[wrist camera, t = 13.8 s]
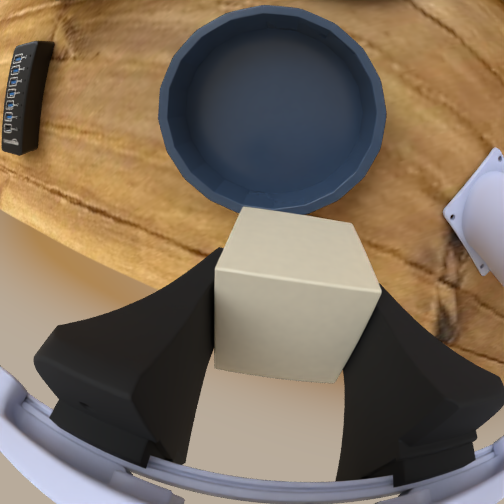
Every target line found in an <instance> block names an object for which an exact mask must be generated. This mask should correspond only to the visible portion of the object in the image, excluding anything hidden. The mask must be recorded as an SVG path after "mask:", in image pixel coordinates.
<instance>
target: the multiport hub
mask: <svg viewBox="0 0 504 504" xmlns="http://www.w3.org/2000/svg"><path fill="white" fill-rule="evenodd" d="M53 48H54V42H51V41H33V42H29V43H26V44H22V45H19V46H17V47H16V48H15V50H14V54H13V58H12V62H11V67H10V72H9V77H8V82H7V89H6V95H5V103H4V113H3V125H2V150H3V151H4V152H8V153H12V154H15V155H19V156H20V155H23V154H25V153H28V152H31V151H33V150H36V149H37V148H38V136H39V124H40V115H41V107H42V100H43V93H44V87H45V82H46V77H47V72H48V68H49V63H50V59H51V55H52V51H53Z"/></svg>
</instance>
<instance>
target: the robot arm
mask: <svg viewBox="0 0 504 504" xmlns="http://www.w3.org/2000/svg"><path fill="white" fill-rule="evenodd" d="M498 158H499V161H498ZM443 215H444V217H445V218H446V220H447V221H448V223H449V224H450V225H451V227H452V228H453V230H454V231H455V233H456V234H457V236H458V237H459V239H460V240H461V242H462V244H463V245H464V247H465V248H466V250H467V252H468V253H469V255H470V257H471V258H472V260H473V262H474V263H475V265H476V267H477V269H478V271H479V272H480V274H481V275H482V276H485V275H486V274H487V273H488V272H489V271H491V272H492V273H493V274H494V276H495V277H496V278H497V279H498V281H499V282H500V283H501V284H502V286H503V287H504V157H503V155H502V153H501V151H500V150H499V149H498V148H493V149H492V150H491V152H490V153H489V155H488V156H487V157H486V159H485V160H484V161H483V163H482V164H481V165H480V166H479V168H478V169H477V170H476V171H475V173H474V174H473V175H472V176H471V178H470V179H469V180H468V181H467V183H466V184H465V185H464V186H463V187H462V189H461V190H460V191H459V192H458V193H457V194H456V196H455V197H454V198H453V199H452V200H451V201H450V202H449V204H448V205H447V206H446V207H445V208H444V210H443ZM451 215H453V217H452V218H451V219H450V217H451ZM223 249H224V248H220V247H219V248H218V249H216V250H215V251H213V252H212V253H211V254H210V255H208V256H207V257H206V258H205V259H204V260H202V261H201V262H200V263H198V264H197V265H196V266H194V267H193V268H192V269H191V270H189V271H188V272H187V273H185V274H184V275H182V276H181V277H179V278H178V279H176V280H175V281H173V282H172V283H170V284H169V285H167V286H165V287H164V288H162V289H160V290H158V291H157V292H155V293H153V294H151V295H149V296H147V297H145V298H143V299H141V300H139V301H136V302H134V303H132V304H129V305H127V306H125V307H123V308H120V309H118V310H114V311H112V312H109V313H106V314H103V315H99V316H96V317H93V318H90V319H86V320H81V321H77V322H72V323H68V324H64V325H58V326H57V327H56V328H55V329H54V331H53V332H52V333H51V334H50V336H49V337H48V339H47V340H46V341H45V342H44V344H43V345H42V346H41V348H40V349H39V351H38V352H37V353H36V355H35V356H34V365H35V368H36V370H37V372H38V373H39V375H40V376H41V377H42V379H43V380H44V381H45V383H46V384H47V385H48V386H49V388H50V389H51V390H52V391H53V393H54V394H55V395H56V396H57V397H58V398H59V401H58V403H57V404H56V406H55V408H54V410H53V409H51V408H50V407H48V406H47V405H45V404H44V403H42V402H41V401H39V400H38V399H36V398H35V397H33V396H32V395H30V394H29V393H28V392H27V390H26V389H25V388H24V386H23V385H22V384H21V383H20V382H19V381H18V380H17V379H16V378H15V377H14V376H13V375H11V374H10V373H9V372H8V371H6V370H5V369H4V368H2V367H1V366H0V451H1V452H2V454H3V455H4V456H5V457H6V458H7V459H8V460H9V461H10V462H11V463H12V464H13V465H14V466H15V467H16V468H17V469H18V470H19V471H20V472H21V473H22V474H23V475H24V476H25V477H26V478H27V479H28V480H29V481H30V482H32V484H34V485H35V486H36V487H37V488H38V489H39V490H40V491H42V492H43V493H44V494H45V495H47V497H49V498H50V499H51V500H52V501H54V502H55V503H56V504H184V501H185V500H184V498H182V497H180V496H177V495H175V494H173V493H172V492H171V490H168V489H165V488H163V487H160V486H157V485H154V484H152V483H149V482H147V481H144V480H142V479H139V478H137V477H135V476H133V474H132V473H131V472H133V473H136V474H138V475H141V476H144V477H146V478H149V479H152V480H155V481H158V482H161V483H164V484H168V485H171V486H174V487H178V488H181V489H185V490H189V491H193V492H197V493H202V494H206V495H211V496H216V497H223V498H227V499H234V500H241V501H249V502H258V503H270V504H333V503H344V502H354V501H362V500H369V499H375V498H381V497H386V496H391V495H396V494H400V493H401V494H400V495H399V496H398V497H396V498H393V499H389V500H384V501H380V502H377V503H375V504H497V503H498V502H499V501H500V500H502V499H503V498H504V435H503V436H502V437H501V438H499V439H498V440H497V441H495V442H494V443H493V444H492V445H490V446H488V447H485V448H483V449H480V450H478V451H475V452H474V448H473V443H472V442H473V441H475V440H476V439H477V434H476V429H478V428H479V427H480V426H482V425H483V424H484V423H485V422H486V421H488V420H489V419H490V418H491V417H492V416H494V415H495V414H496V413H497V412H498V411H499V410H500V409H501V408H502V406H503V405H504V386H503V383H502V381H501V379H500V377H499V376H497V375H495V374H493V373H491V372H489V371H487V370H485V369H483V368H481V367H479V366H477V365H475V364H473V363H472V362H470V361H468V360H467V359H465V358H464V357H462V356H460V355H459V354H457V353H456V352H454V351H453V350H452V349H450V348H449V347H447V346H446V345H445V344H443V343H442V342H441V341H439V340H438V339H437V338H435V337H434V336H433V335H432V334H431V333H429V332H428V331H427V330H426V329H425V328H424V327H422V326H421V325H420V324H419V323H418V322H417V321H416V320H415V319H414V318H413V317H412V316H411V315H410V314H409V313H407V312H406V311H405V310H404V309H403V308H402V307H401V306H400V304H399V303H398V302H397V301H396V300H395V299H394V298H393V297H392V296H391V295H390V294H389V293H388V292H387V291H386V290H385V289H384V288H383V286H382V285H381V284H380V283H379V282H378V283H379V285H380V288H381V290H382V293H381V296H380V298H379V300H378V302H377V304H376V307H375V309H374V311H373V313H372V315H371V317H370V319H369V321H368V323H367V325H366V327H365V329H364V331H363V333H362V335H361V337H360V339H359V341H358V343H357V345H356V347H355V348H354V350H353V352H352V354H351V356H350V358H349V359H348V361H347V363H346V365H345V366H344V368H343V374H344V384H345V409H344V428H343V438H342V447H341V454H340V460H339V466H338V472H337V476H336V481H335V482H285V481H271V480H259V479H251V478H244V477H236V476H230V475H224V474H219V473H214V472H209V471H204V470H200V469H195V468H192V467H187V466H184V465H182V464H184V463H185V462H186V457H187V451H188V446H189V441H190V436H191V431H192V427H193V422H194V418H195V413H196V409H197V404H198V400H199V396H200V392H201V388H202V384H203V380H204V376H205V372H206V369H207V366H208V363H209V360H210V357H211V354H212V352H213V349H214V284H215V267H216V265H217V263H218V260H219V258H220V256H221V254H222V251H223Z"/></svg>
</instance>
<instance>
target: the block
mask: <svg viewBox="0 0 504 504" xmlns="http://www.w3.org/2000/svg"><path fill="white" fill-rule="evenodd" d="M381 293H382V290H381V288H380V285H379V283H378V280H377V278H376V275H375V273H374V271H373V268H372V266H371V264H370V261H369V259H368V257H367V254H366V252H365V250H364V248H363V245H362V243H361V241H360V239H359V237H358V235H357V232H356V230H355V228H354V226H353V224H352V223H347V222H341V221H336V220H330V219H324V218H318V217H312V216H306V215H299V214H293V213H286V212H280V211H273V210H266V209H259V208H251V207H242V209H241V212H240V214H239V216H238V218H237V220H236V222H235V225H234V227H233V229H232V231H231V233H230V236H229V238H228V240H227V242H226V245H225V247H224V249H223V251H222V254H221V256H220V258H219V260H218V263H217V265H216V267H215V284H214V363H215V364H214V367H215V368H216V369H220V370H225V371H230V372H236V373H242V374H248V375H255V376H262V377H269V378H277V379H286V380H295V381H306V382H318V383H335V381H336V380H337V378H338V377H339V375H340V373H341V371H342V370H343V368H344V366H345V365H346V363H347V361H348V359H349V358H350V356H351V354H352V352H353V350H354V348H355V347H356V345H357V343H358V341H359V339H360V337H361V335H362V333H363V331H364V329H365V327H366V325H367V323H368V321H369V319H370V317H371V315H372V313H373V311H374V309H375V307H376V304H377V302H378V300H379V298H380V296H381Z"/></svg>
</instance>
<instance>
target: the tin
mask: <svg viewBox="0 0 504 504" xmlns="http://www.w3.org/2000/svg"><path fill="white" fill-rule="evenodd" d="M158 120H159V125H160V128H161V132H162V136H163V140H164V143H165V147H166V150H167V153H168V154H169V156H170V157H171V159H172V160H173V162H174V163H175V165H176V167H177V168H178V170H179V171H180V173H181V174H182V176H183V177H184V178H185V180H187V181H188V182H189V183H190V184H191V185H192V186H194V187H195V188H196V189H197V190H198V191H199V192H201V193H202V194H203V195H204V196H205V197H206V198H208V199H210V201H213V202H215V203H217V204H219V205H222V206H224V207H226V208H228V209H231V210H233V211H235V212H237V213H240V212H241V209H242V207H251V208H259V209H266V210H273V211H280V212H286V213H293V214H299V215H306V214H309V213H311V212H314V211H316V210H318V209H320V208H322V207H325V206H327V205H329V204H331V203H334V202H336V201H338V200H339V199H341V198H342V197H343V196H344V195H345V194H346V193H347V192H348V191H350V190H351V189H352V188H353V187H354V186H355V185H356V184H357V183H359V182H360V181H361V180H362V179H363V178H364V177H365V175H366V173H367V172H368V170H369V168H370V166H371V165H372V163H373V161H374V160H375V158H376V156H377V154H378V152H379V151H380V148H381V144H382V139H383V133H384V128H385V122H386V107H385V100H384V94H383V89H382V83H381V81H380V78H379V76H378V74H377V72H376V70H375V68H374V66H373V65H372V63H371V61H370V59H369V58H368V56H367V54H366V52H365V51H364V49H363V48H362V47H361V46H360V45H359V44H358V43H357V42H355V41H354V40H353V39H352V38H351V37H350V36H349V35H348V34H347V33H346V32H344V31H343V30H342V29H341V28H340V27H339V26H337V25H335V23H333V22H330V21H328V20H326V19H324V18H322V17H319V16H317V15H315V14H313V13H310V12H308V11H305V10H303V9H299V8H291V7H282V6H270V5H261V6H256V7H251V8H246V9H241V10H237V11H233V12H229V13H225V14H224V15H222V16H220V17H218V18H216V19H215V20H213V21H211V22H209V23H208V24H206V25H204V26H203V27H201V28H199V29H198V30H196V31H195V32H194V33H193V34H192V36H191V37H190V38H189V39H188V40H187V41H186V42H185V43H184V44H183V46H182V47H181V48H180V49H179V50H178V51H177V53H176V54H175V55H174V56H173V58H172V60H171V63H170V65H169V67H168V70H167V72H166V75H165V77H164V79H163V82H162V85H161V88H160V96H159V113H158Z"/></svg>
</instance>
